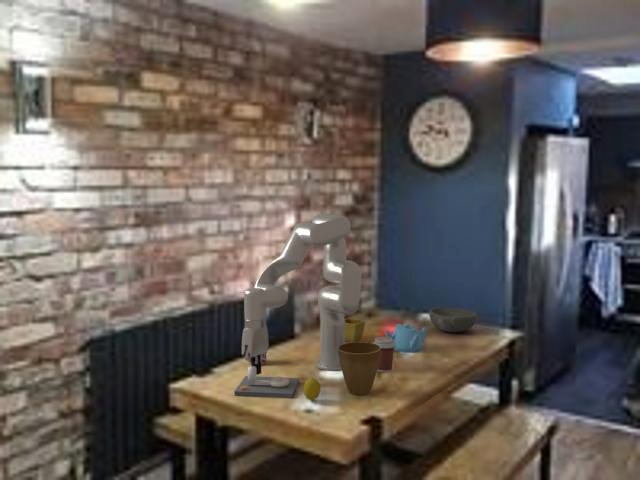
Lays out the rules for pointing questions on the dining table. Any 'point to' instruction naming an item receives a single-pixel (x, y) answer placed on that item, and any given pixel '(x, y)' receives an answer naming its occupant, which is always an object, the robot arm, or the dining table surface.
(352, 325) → the flower pot
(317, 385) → the lemon
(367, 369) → the plant pot
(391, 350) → the coffee cup
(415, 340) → the teapot
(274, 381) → the white lever handle
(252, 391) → the stand board
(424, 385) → the dining table surface
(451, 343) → the dining table surface
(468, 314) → the bowl
